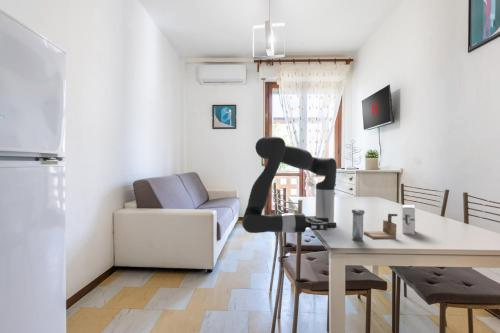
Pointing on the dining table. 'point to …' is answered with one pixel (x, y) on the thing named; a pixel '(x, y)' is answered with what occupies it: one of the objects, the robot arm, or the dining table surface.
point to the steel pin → (357, 225)
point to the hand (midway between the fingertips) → (332, 222)
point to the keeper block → (384, 230)
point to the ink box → (408, 219)
